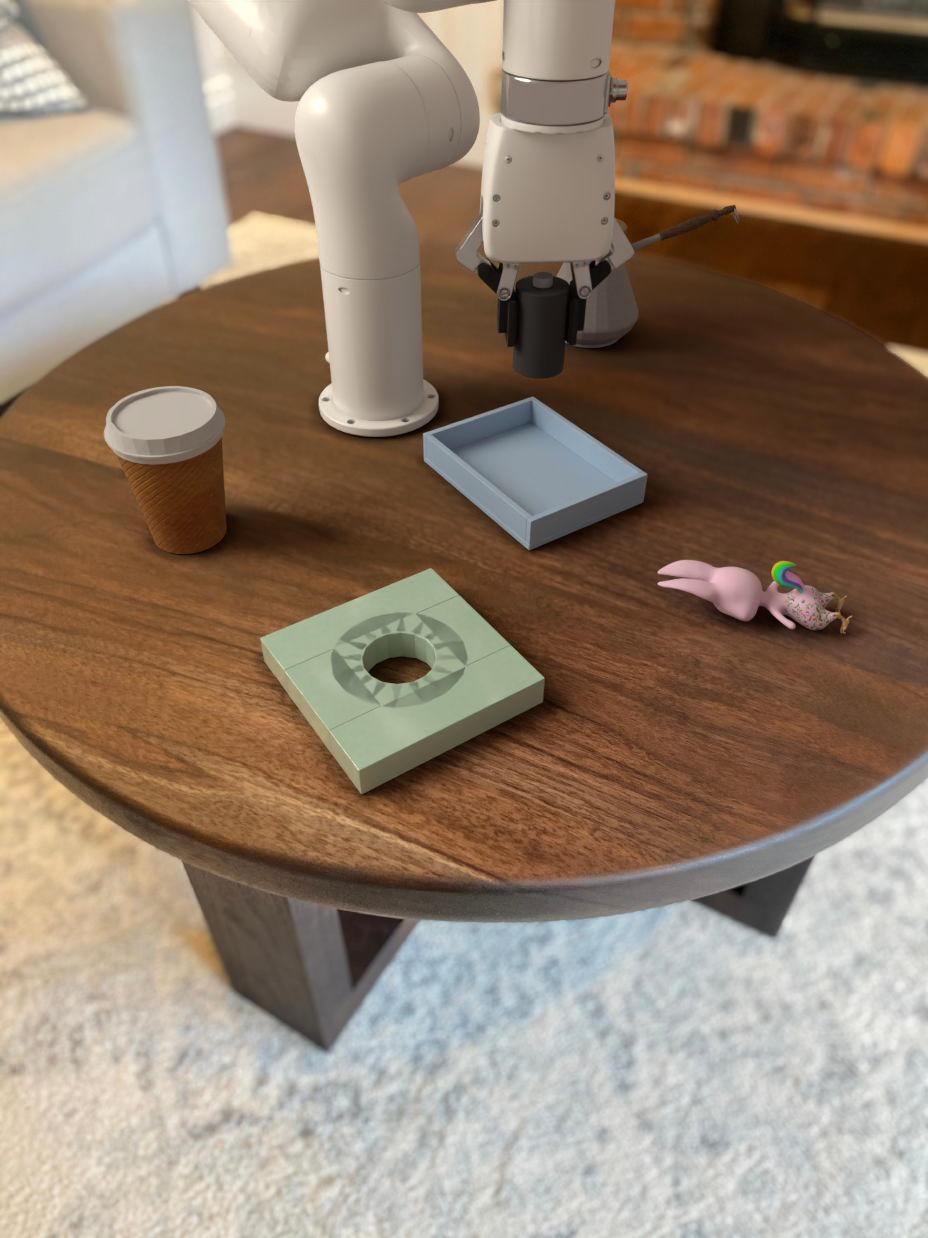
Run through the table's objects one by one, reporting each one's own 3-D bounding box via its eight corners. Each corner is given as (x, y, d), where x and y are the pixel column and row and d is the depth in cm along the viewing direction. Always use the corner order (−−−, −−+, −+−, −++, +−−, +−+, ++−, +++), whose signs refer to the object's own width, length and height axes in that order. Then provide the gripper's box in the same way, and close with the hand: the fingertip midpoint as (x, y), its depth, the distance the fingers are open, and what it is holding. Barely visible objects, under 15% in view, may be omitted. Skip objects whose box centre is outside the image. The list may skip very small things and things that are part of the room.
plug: (502, 363, 82) (505, 272, 76) (542, 351, 83) (548, 260, 78) (532, 383, 79) (537, 289, 74) (573, 370, 81) (581, 277, 75)
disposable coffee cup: (191, 580, 78) (161, 455, 70) (111, 542, 82) (73, 420, 74) (267, 523, 84) (247, 402, 76) (189, 490, 88) (162, 372, 80)
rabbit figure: (827, 609, 78) (651, 569, 78) (860, 554, 74) (674, 512, 74) (838, 662, 73) (651, 619, 73) (874, 606, 69) (675, 560, 69)
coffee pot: (543, 355, 109) (552, 222, 99) (536, 313, 117) (544, 187, 107) (726, 355, 109) (754, 223, 99) (706, 313, 118) (730, 187, 108)
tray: (423, 461, 92) (422, 433, 90) (531, 423, 97) (533, 396, 95) (529, 550, 81) (530, 521, 79) (643, 502, 87) (648, 474, 85)
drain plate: (264, 661, 71) (259, 637, 69) (431, 591, 77) (431, 567, 76) (361, 795, 62) (358, 770, 60) (543, 702, 68) (545, 678, 66)
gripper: (658, 84, 71) (629, 317, 83) (433, 87, 70) (437, 322, 82) (682, 110, 65) (647, 356, 77) (438, 113, 64) (441, 362, 76)
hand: (539, 336), depth 79 cm, fingers closed on plug, 4 cm apart
